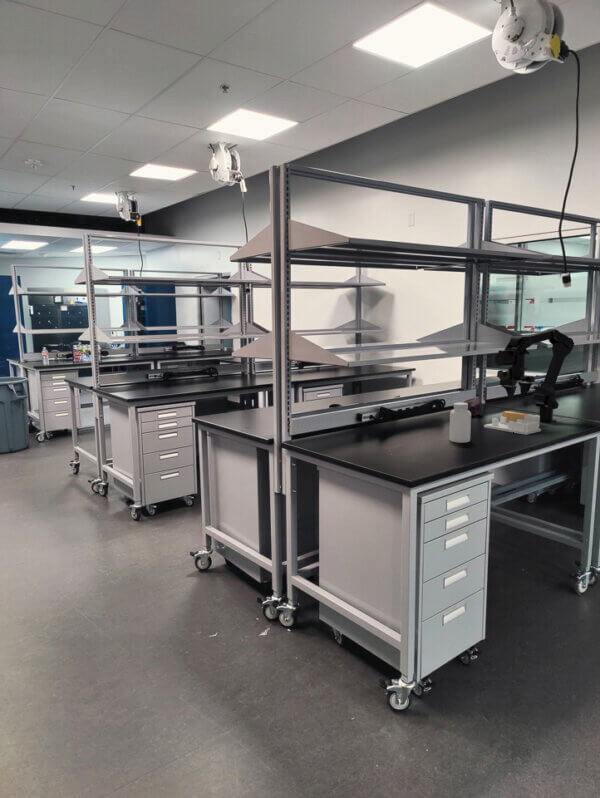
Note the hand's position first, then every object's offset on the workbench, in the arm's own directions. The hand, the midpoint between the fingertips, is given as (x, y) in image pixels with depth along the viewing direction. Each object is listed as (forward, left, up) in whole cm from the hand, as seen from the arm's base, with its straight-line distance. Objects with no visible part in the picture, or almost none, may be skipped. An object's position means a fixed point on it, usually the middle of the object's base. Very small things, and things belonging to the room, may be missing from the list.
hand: (516, 399), depth 240 cm
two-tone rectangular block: (0, +2, -11) cm, 11 cm away
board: (+11, +5, -11) cm, 16 cm away
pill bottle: (+45, +4, -11) cm, 46 cm away
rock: (-2, -25, -11) cm, 28 cm away
